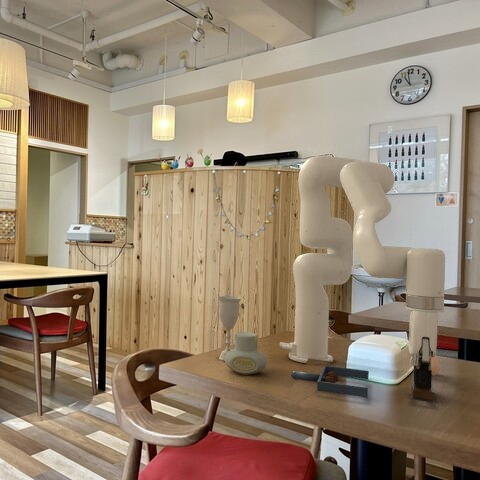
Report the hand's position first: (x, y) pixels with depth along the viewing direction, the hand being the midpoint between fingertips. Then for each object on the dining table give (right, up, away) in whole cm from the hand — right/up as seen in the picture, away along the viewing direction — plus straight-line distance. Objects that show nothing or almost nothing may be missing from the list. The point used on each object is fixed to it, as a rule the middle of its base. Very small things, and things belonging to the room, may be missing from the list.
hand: (422, 385), depth 108 cm
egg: (+11, -4, +19) cm, 23 cm away
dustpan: (-18, -3, +8) cm, 20 cm away
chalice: (-39, -3, +34) cm, 51 cm away
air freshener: (-36, -3, +20) cm, 41 cm away
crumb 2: (-16, -1, +11) cm, 20 cm away
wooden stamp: (0, -4, 0) cm, 4 cm away
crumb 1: (-19, -1, +6) cm, 20 cm away
